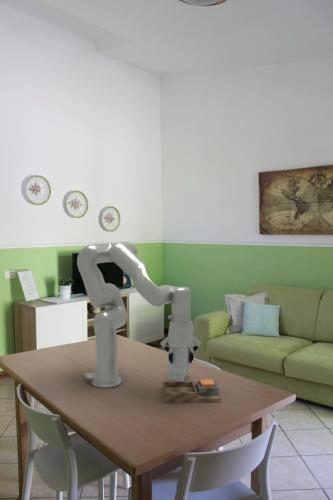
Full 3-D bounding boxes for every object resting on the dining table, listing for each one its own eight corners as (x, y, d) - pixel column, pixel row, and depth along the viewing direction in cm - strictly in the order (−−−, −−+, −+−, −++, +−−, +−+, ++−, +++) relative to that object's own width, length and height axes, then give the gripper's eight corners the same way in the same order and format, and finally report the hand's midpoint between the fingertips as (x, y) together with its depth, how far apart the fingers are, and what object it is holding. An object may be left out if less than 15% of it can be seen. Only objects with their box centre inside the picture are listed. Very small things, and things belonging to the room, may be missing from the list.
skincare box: (189, 369, 173) (190, 340, 172) (185, 372, 169) (186, 342, 168) (176, 367, 175) (176, 338, 175) (171, 370, 172) (171, 340, 171)
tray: (163, 403, 165) (163, 391, 165) (161, 389, 179) (161, 378, 179) (220, 402, 167) (220, 390, 167) (213, 388, 181) (213, 378, 181)
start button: (201, 390, 171) (201, 384, 171) (199, 385, 176) (199, 379, 176) (214, 390, 171) (214, 384, 171) (212, 385, 176) (212, 379, 176)
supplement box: (184, 381, 189) (184, 353, 188) (167, 380, 190) (167, 351, 189) (186, 375, 196) (187, 348, 195) (170, 374, 197) (171, 347, 197)
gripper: (159, 320, 167) (159, 365, 168) (204, 319, 168) (204, 365, 169) (158, 316, 174) (158, 360, 175) (201, 316, 176) (201, 359, 176)
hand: (180, 362), depth 172 cm, fingers closed on skincare box, 7 cm apart
